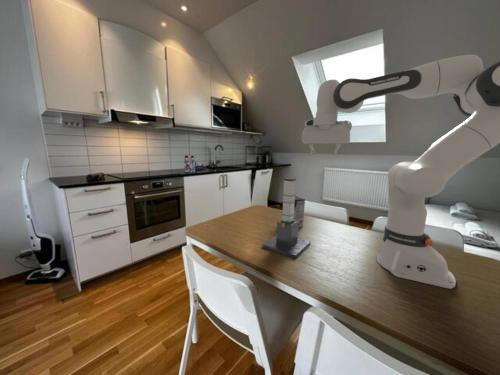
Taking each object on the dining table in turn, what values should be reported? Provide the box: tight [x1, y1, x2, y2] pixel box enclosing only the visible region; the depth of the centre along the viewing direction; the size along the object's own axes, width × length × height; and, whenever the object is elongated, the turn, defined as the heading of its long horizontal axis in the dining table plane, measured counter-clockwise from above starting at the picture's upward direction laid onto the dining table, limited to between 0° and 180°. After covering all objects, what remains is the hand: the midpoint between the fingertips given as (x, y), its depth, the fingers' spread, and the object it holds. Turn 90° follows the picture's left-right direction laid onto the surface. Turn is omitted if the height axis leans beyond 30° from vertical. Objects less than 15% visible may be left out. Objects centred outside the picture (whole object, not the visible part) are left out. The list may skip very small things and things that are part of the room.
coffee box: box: [293, 195, 306, 228], centre depth 118 cm, size 9×6×16 cm
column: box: [281, 177, 297, 224], centre depth 89 cm, size 4×4×23 cm
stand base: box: [261, 219, 311, 260], centre depth 92 cm, size 16×16×12 cm
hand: (323, 154), depth 91 cm, fingers open, 8 cm apart
